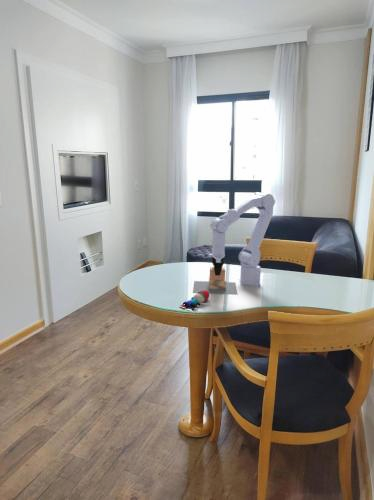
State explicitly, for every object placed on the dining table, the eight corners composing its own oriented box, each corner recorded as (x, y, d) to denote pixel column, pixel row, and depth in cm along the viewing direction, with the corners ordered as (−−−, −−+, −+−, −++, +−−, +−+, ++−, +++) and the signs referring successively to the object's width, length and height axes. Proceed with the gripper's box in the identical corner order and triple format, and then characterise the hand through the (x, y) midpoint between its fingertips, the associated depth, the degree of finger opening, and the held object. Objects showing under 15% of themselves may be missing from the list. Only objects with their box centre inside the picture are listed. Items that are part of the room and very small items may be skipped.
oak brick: (225, 284, 172) (225, 276, 171) (225, 289, 166) (226, 281, 165) (208, 284, 172) (208, 276, 171) (208, 288, 167) (208, 280, 166)
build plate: (235, 283, 176) (235, 282, 176) (237, 295, 160) (237, 294, 160) (194, 281, 177) (194, 281, 177) (192, 293, 161) (192, 292, 161)
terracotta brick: (224, 277, 170) (224, 267, 169) (224, 280, 166) (225, 270, 165) (209, 277, 170) (209, 266, 169) (209, 279, 167) (209, 269, 165)
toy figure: (192, 315, 143) (215, 299, 153) (190, 304, 141) (213, 289, 151) (178, 311, 148) (201, 296, 158) (176, 301, 146) (200, 286, 156)
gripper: (209, 241, 172) (209, 268, 175) (209, 248, 158) (208, 278, 161) (224, 241, 171) (223, 268, 174) (225, 249, 157) (224, 278, 160)
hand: (217, 273), depth 168 cm, fingers open, 5 cm apart
